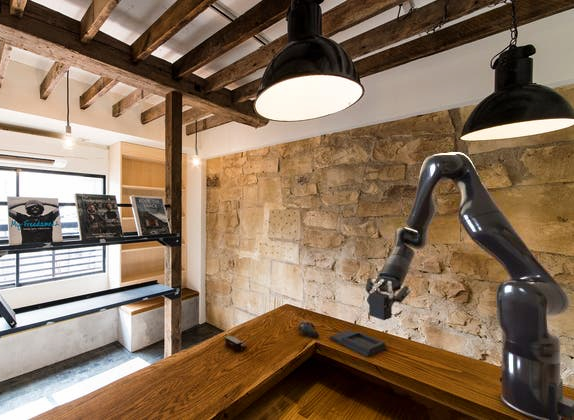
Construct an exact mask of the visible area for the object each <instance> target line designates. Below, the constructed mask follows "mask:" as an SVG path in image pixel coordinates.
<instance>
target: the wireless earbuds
mask: <svg viewBox="0 0 574 420" xmlns="http://www.w3.org/2000/svg"><path fill="white" fill-rule="evenodd" d="M224 345H225V347H227V348H228V349H230V350H233V351H234V352H236V353H238V352H240V351H242V349H243V350H245V349H248V346H246V345H245V344H244V343H243V341H242V340H240V339H239V338H237V337H234V336H233V335H229V334H228V335H226V336H224Z"/></svg>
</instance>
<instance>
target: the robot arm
mask: <svg viewBox="0 0 574 420" xmlns="http://www.w3.org/2000/svg"><path fill="white" fill-rule="evenodd" d="M476 169H477V168H476V167H475V165H474V164H473V162H472V161H471V159H470V158H469V157H468V156H467V155H466V154H465V153H462V152H447V153H438V154H432V155H430V156H427V157H426V158H425V159H424V161H423V162H422V164H421V166H420V171H419V176H418V181H417V184H416V190H415V191H416V192H415V197H414V200H413V204H412V206H411V208H410V211H409V212H408V213H409V214H408V216H407V218H406V221H405V223H406V226H408V227H406V226H400V227H398V228H397V229H396V230H395V232H394V235H393V236H394V239H393V247H392V249H391V251H390V253H389V256H388V257H387V259H386V260H385V262H384V264H383V265H382V268H381V270H380V272H379V275H378V277H377V278H375V279H374V278H371V277H367V280H366V285H365V291H366V293H367V294H368V296H367V298H366V302H367V304H368V305H369V294H371V293H374V292H379V293H386V294H387V293H388V295H389V298H388V299H387V301H386V303H385V305H384V308H385V309H386V310H389V309H391V308H392V307H393V305H394V303H399V304H401V303H402V302H404V300H405V299H406V298H407V296H408V295H409V294H410V293H411V289H410V288H409V286H407V285H404V282H405V279H406V278H407V275H408V274H409V271H410V268H411V264H412V262H413V260H414V258H415V255H416V251H414V250H413V249H415V250H422V249H424V248H425V247H426V246H427V245H428V240H429V228H430V225H431V223H432V221H433V220H434V217H435V215H436V212H437V204H436V200H435V198H434V191H435V188H436V187H437V185H439V183H441V182H450V181H451V182H452V183H453V184H454V186H455V187H456V189H457V191H458V193H459V196H460V198H459V199H460V201H459V206H458V211H457V212H458V213H457V215H458V216H457V217H458V220H459V222H460V224H461V226H462V228H463V229H464V231H465V233H466V234H467V236H468V237H469V238H470V240H471V241H472V242H473V243H475V245H477V246H478V247H479V248H480V249H481V250H483V251H484V252H485V253H487V254H488V255H489V256H491V257H492V258H493V259H495V261H497V263H499V264H500V265H501V267H502V268H503V269H504V270H505V272H506V273H507V275H508V276H509V278H510V279H506V280H503V281H502V282H501V283H499V285H498V286H497V288H496V292H495V306H496V319H497V323H498V326H499V328H500V329H501V377H499V383H501V394H500V396H501V397H500V399H501V402H503V403H504V405H506V406H507V407H509V408H510V409H512V410H513V411H515V412H516V413H518V414H520V415H523V416H524V417H528V418H530V419H532V420H562V419H563V418H565V419H567V420H573V419H574V399H571V398H568V397H566V396H563V395H564V386H563V385H564V379H563V378H562V377H561V339H560V338H559V336H557V335H556V334H554V333H552V332H551V331H549V327H548V317H556V316H561V315H563V314H565V313H567V311H568V310H569V309H570V308H569V307H570V303H571V302H570V298H569V296H568V294H567V292H566V291H565V289H564V288H563V287H562V286H561V284H560V283H559V282H558V281H557V280H556V279H555V278H554V277H553V275H552V274H551V273H550V272H548V270H547V269H546V268H545V267H544V266H543V264H541V262H540V261H539V260H538V259H537V257H535V255H534V254H533V253H532V251H531V250H530V248H529V247H528V246H527V244H526V242H525V241H524V240H523V239H522V237H521V236H520V235H519V233H518V232H517V230H516V229H515V228H514V225H513V224H512V222H510V220H509V218H508V216H506V213H504V212H503V210H502V209H501V208H500V207H499V205H498V204H497V203H496V201H495V200H494V198H493V197H492V195H491V194H490V192H489V190H488V189H487V187H486V185H485V184H484V183H483V181H482V179H481V177H480V175H479V172H478V171H477V170H476ZM396 292H398V293H396Z"/></svg>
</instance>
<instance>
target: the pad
mask: <svg viewBox="0 0 574 420" xmlns="http://www.w3.org/2000/svg"><path fill="white" fill-rule="evenodd" d="M330 340H331V341H334V342H335V343H337V344H340V345H342V346H344V347H346V348H347V349H350V350H352V351H355V352H356V353H359V354H360V355H363V356H365V357H367V358H369V357H371V356H373V355H375V354H377V353H379V352H381V351H383V350H386V349H387V344H386V342H385V341H382V340H379V339H378V338H375V337H372V336H369V335H368V334H365V333H363V332H361V331H358V330H357V331H353V330H351V329H346V330H343V331H342V332H338V333H335V334H333V335H331V336H330Z"/></svg>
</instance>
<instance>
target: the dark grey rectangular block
mask: <svg viewBox="0 0 574 420" xmlns="http://www.w3.org/2000/svg"><path fill="white" fill-rule="evenodd" d="M368 296H369V304H368V305H369V306H368V312H369V316H370V317H373V318H376V319H379V320H382V321H386V320H390V319H392V316H393V315H392V310H393V309H392V308H391V309H389V310H386V309H385V308H384V305H385V303H386V301H387V299H388V298H389V294H387V293H384V292H381V293H379V292H374V293H371V294H368Z"/></svg>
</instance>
